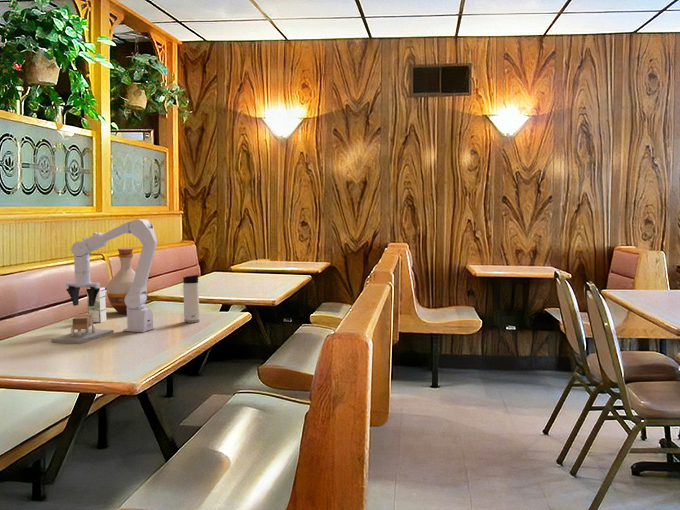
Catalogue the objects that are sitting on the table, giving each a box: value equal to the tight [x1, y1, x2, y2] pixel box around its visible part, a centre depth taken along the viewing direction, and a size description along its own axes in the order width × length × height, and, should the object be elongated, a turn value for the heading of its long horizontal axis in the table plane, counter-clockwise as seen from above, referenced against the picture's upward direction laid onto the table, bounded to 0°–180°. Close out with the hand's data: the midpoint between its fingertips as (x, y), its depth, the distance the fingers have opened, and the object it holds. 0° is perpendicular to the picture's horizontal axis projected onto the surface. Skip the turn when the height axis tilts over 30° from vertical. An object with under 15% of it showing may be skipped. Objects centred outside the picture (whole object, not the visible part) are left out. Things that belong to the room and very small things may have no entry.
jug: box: [105, 246, 148, 315], centre depth 308 cm, size 20×18×30 cm
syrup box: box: [86, 287, 107, 324], centre depth 285 cm, size 6×6×14 cm
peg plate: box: [51, 324, 115, 345], centre depth 252 cm, size 12×20×4 cm, turn 162°
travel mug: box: [182, 274, 200, 324], centre depth 282 cm, size 6×7×20 cm
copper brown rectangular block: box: [72, 312, 94, 331], centre depth 252 cm, size 12×5×4 cm, turn 11°
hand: (83, 305), depth 265 cm, fingers open, 7 cm apart
